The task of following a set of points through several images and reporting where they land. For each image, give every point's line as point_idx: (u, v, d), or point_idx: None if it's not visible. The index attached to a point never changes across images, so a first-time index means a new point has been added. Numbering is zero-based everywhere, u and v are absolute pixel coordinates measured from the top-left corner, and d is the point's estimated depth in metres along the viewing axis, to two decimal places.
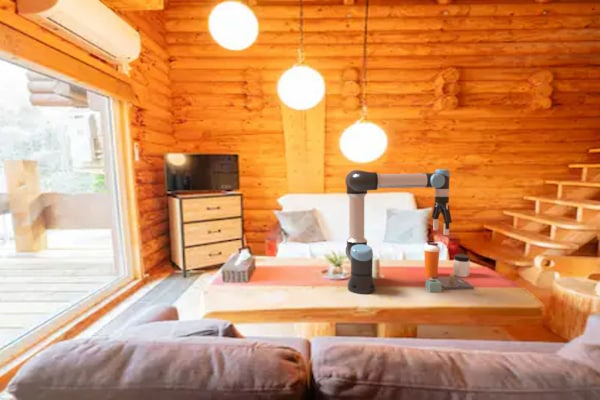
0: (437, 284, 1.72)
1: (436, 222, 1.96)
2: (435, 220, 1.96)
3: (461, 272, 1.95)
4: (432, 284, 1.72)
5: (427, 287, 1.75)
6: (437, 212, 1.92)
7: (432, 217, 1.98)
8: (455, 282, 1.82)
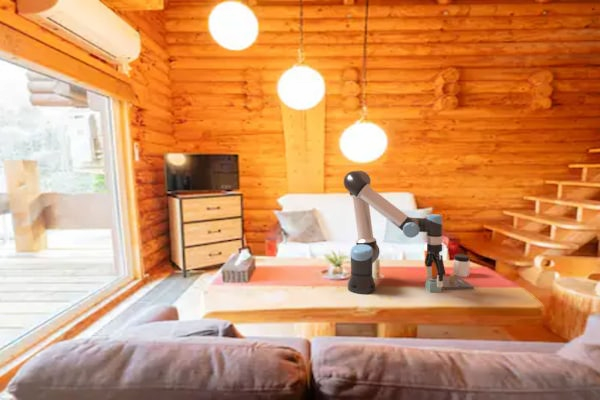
0: None
1: (429, 270, 1.81)
2: (428, 268, 1.81)
3: (461, 272, 1.95)
4: (432, 284, 1.72)
5: (427, 287, 1.75)
6: (430, 260, 1.77)
7: None
8: (455, 282, 1.82)
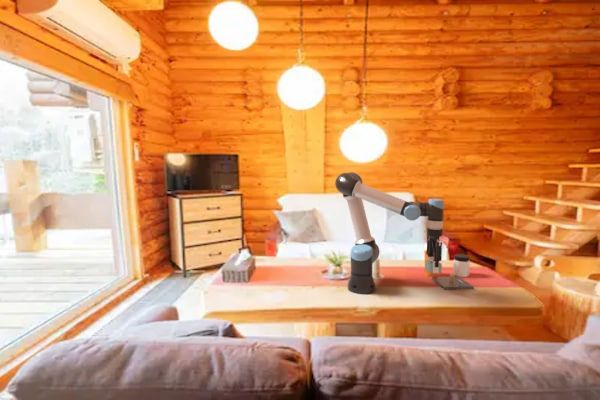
0: None
1: None
2: (430, 258, 1.77)
3: (461, 272, 1.95)
4: (432, 265, 1.71)
5: (427, 268, 1.75)
6: (431, 247, 1.75)
7: None
8: (455, 282, 1.82)
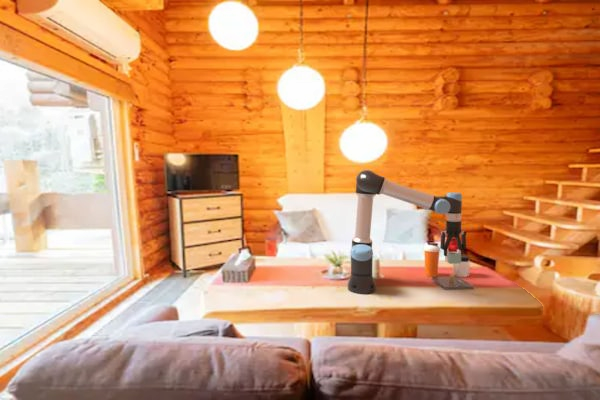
0: None
1: None
2: (457, 250, 1.82)
3: (461, 272, 1.95)
4: None
5: None
6: (456, 239, 1.81)
7: None
8: (455, 282, 1.82)
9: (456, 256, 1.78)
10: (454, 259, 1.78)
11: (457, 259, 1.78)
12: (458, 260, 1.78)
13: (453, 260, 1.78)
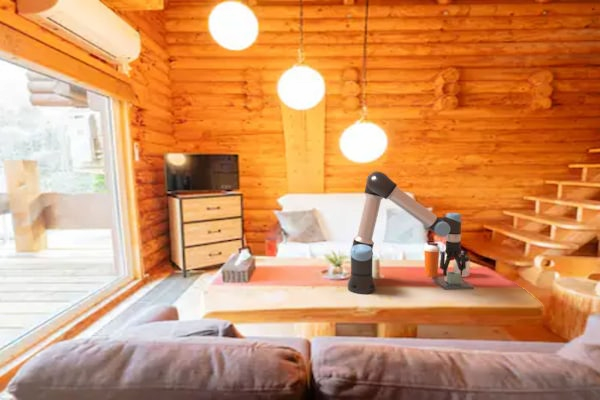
0: (448, 275, 1.82)
1: None
2: (457, 270, 1.83)
3: None
4: None
5: None
6: None
7: None
8: None
9: (456, 276, 1.80)
10: (454, 279, 1.80)
11: (457, 280, 1.80)
12: (457, 280, 1.80)
13: (453, 280, 1.80)
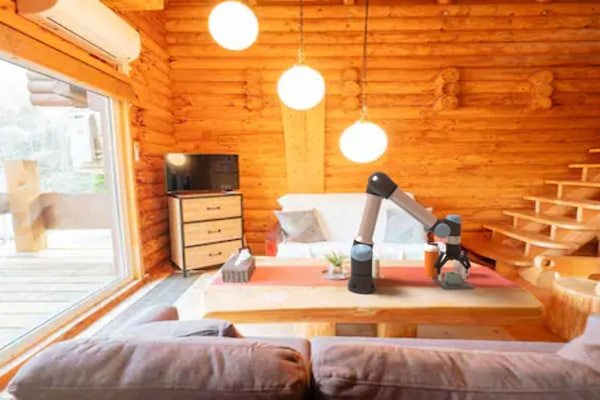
0: (448, 275, 1.82)
1: (463, 271, 1.83)
2: (463, 269, 1.83)
3: (461, 272, 1.95)
4: (445, 273, 1.84)
5: None
6: (458, 259, 1.83)
7: None
8: None
9: (456, 276, 1.80)
10: (454, 279, 1.80)
11: (457, 280, 1.80)
12: (457, 280, 1.80)
13: (453, 280, 1.80)
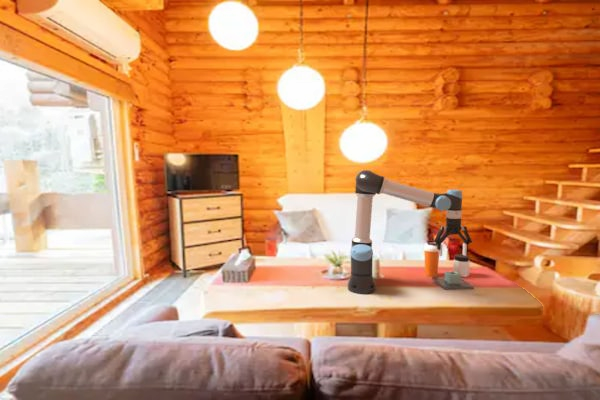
0: (448, 275, 1.82)
1: (464, 246, 1.81)
2: (463, 244, 1.82)
3: (461, 272, 1.95)
4: (445, 273, 1.84)
5: None
6: None
7: None
8: None
9: (456, 276, 1.80)
10: (454, 279, 1.80)
11: (457, 280, 1.80)
12: (457, 280, 1.80)
13: (453, 280, 1.80)
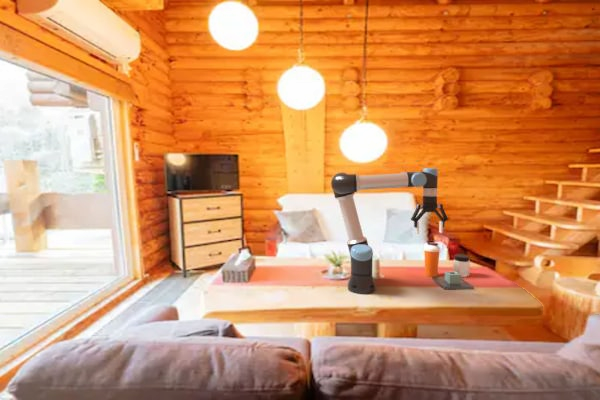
0: (448, 275, 1.82)
1: (440, 224, 1.84)
2: (440, 222, 1.84)
3: (461, 272, 1.95)
4: (445, 273, 1.84)
5: None
6: (435, 213, 1.84)
7: None
8: None
9: (456, 276, 1.80)
10: (454, 279, 1.80)
11: (457, 280, 1.80)
12: (457, 280, 1.80)
13: (453, 280, 1.80)
